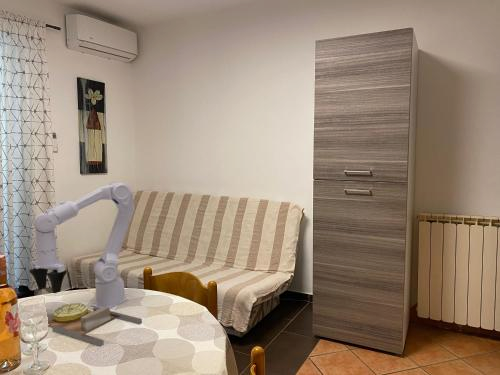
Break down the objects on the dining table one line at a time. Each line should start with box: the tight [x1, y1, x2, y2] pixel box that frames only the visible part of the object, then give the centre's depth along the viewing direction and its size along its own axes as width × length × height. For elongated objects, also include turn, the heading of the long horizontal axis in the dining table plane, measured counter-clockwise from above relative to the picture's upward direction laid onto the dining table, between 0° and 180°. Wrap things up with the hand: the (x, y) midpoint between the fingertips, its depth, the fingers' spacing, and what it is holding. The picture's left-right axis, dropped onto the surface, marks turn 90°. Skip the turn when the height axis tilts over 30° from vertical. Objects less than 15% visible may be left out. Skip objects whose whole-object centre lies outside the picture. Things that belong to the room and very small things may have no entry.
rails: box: [51, 307, 143, 347], centre depth 114 cm, size 16×21×2 cm
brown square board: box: [47, 306, 116, 335], centre depth 118 cm, size 18×13×5 cm
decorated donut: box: [52, 302, 89, 323], centre depth 121 cm, size 10×11×4 cm
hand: (49, 290), depth 121 cm, fingers open, 7 cm apart
